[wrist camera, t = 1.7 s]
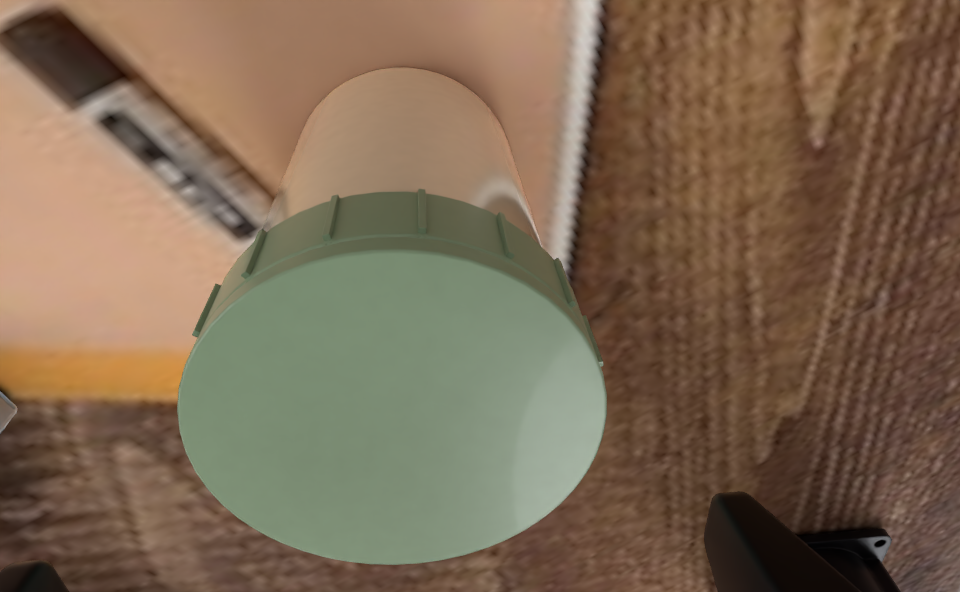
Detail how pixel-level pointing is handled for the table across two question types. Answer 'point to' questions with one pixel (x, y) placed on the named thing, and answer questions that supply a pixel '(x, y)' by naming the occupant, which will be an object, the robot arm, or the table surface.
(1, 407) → the label tape box
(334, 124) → the jar
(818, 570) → the robot arm
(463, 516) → the jar lid
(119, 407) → the table surface
